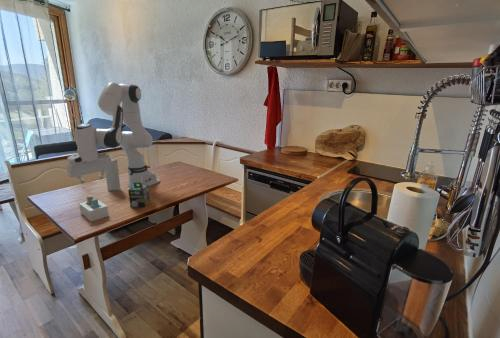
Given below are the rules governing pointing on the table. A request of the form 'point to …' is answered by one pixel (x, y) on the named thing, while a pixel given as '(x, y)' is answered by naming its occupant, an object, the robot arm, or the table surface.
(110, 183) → the paper towel roll
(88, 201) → the beech dowel
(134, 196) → the chalk box
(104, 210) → the hole block
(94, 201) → the teal dowel
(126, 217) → the table surface
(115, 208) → the table surface
